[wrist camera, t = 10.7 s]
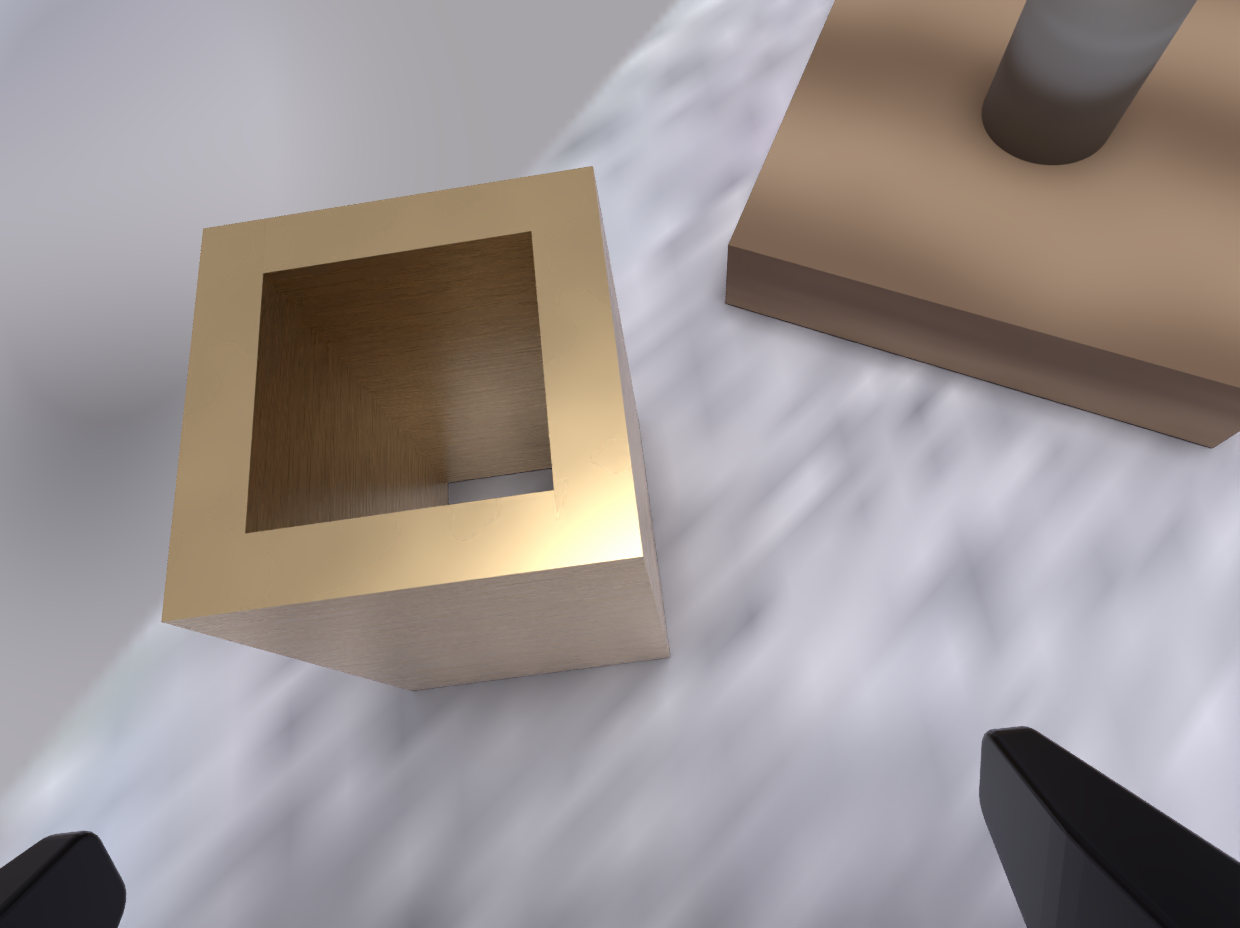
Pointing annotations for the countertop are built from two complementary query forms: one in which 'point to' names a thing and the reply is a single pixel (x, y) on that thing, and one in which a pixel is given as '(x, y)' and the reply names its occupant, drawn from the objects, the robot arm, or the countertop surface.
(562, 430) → the collar
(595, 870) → the countertop surface
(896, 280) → the post stand
